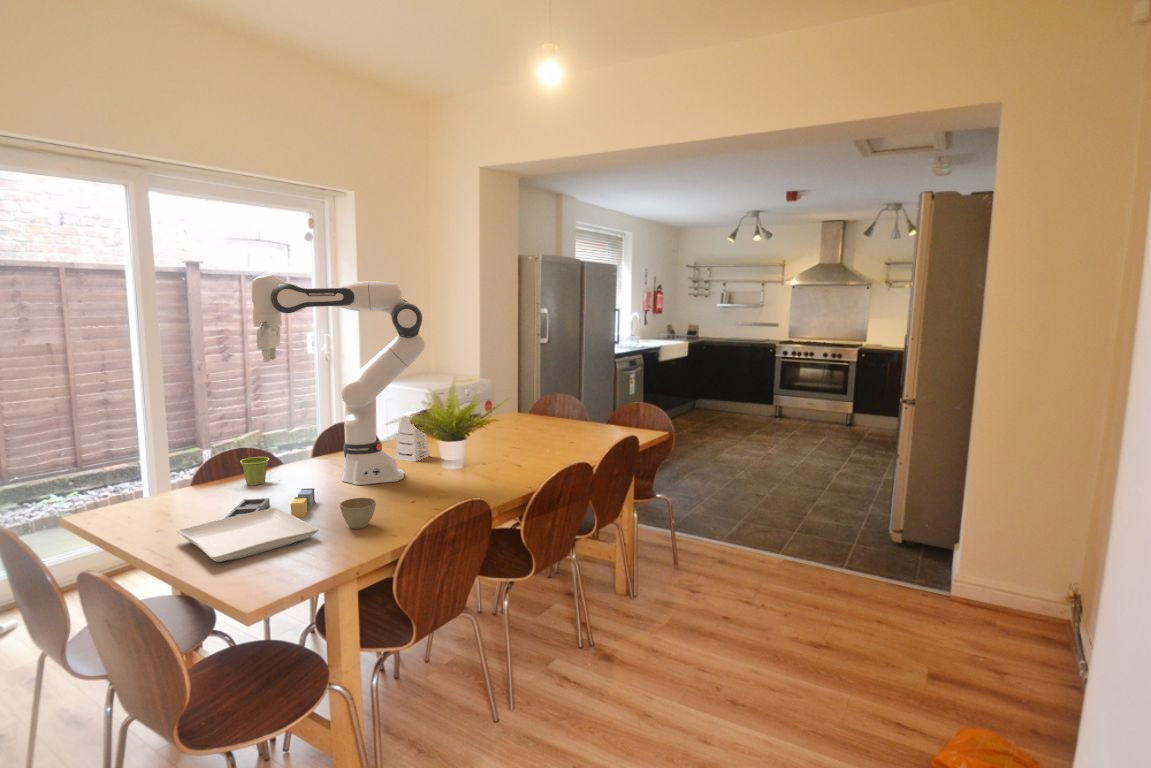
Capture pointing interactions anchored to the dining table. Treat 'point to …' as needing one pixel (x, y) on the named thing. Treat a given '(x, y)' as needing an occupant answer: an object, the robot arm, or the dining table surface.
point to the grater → (410, 440)
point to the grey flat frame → (249, 506)
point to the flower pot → (358, 511)
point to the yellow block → (299, 506)
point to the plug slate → (308, 495)
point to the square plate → (247, 534)
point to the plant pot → (255, 469)
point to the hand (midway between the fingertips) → (269, 360)
